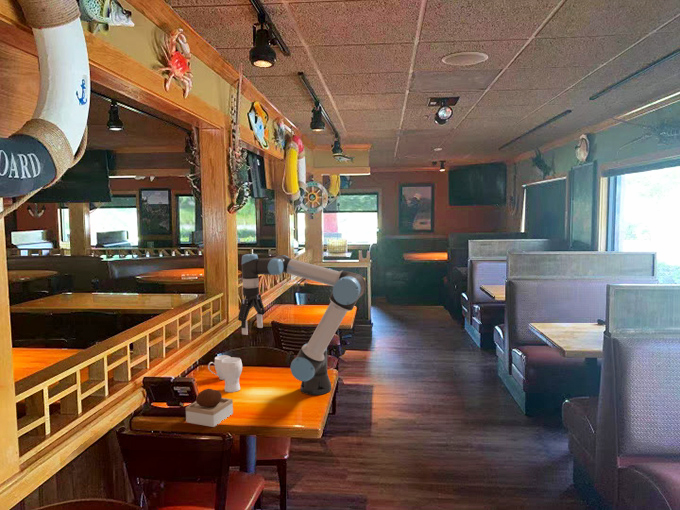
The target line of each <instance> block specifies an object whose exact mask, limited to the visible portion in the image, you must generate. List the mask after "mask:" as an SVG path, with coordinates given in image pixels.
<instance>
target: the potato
mask: <svg viewBox="0 0 680 510" xmlns="http://www.w3.org/2000/svg"><path fill="white" fill-rule="evenodd" d="M222 396H223V395H222V393H221V391H220V390H217V389H212V388H206V389H204V390H201V391H200V392H199V393H198V394H197V395H196V399H195V402H197V404H198V405H200V406H205V407H213V406H216V405H217V404H219V403H220V401H221V399H222V398H223V397H222Z"/></svg>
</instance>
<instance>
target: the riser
mask: <svg viewBox="0 0 680 510" xmlns="http://www.w3.org/2000/svg"><path fill="white" fill-rule="evenodd" d="M233 406H234V404H233V399H232V398H227V397H222V399H221V401H220V403H219V404H217V405H216V406H213V407H205V406H200V405H198V404H197V402H196V401H193V402H192V403H191V404H189V405H187V406H185V423H188V424H192V425H199V426H200V425H201V426H206V427H212V428H214V427H216V426H218V425H219V424H220V423H222V422H223V421H225V420H226V419H228V418H229V417H230V415H231V416H232V415H233V414H234V407H233ZM227 417H228V418H227ZM224 419H225V420H224ZM222 420H223V421H222ZM221 421H222V422H221ZM217 424H218V425H217Z"/></svg>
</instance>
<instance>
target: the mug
mask: <svg viewBox="0 0 680 510" xmlns="http://www.w3.org/2000/svg"><path fill="white" fill-rule="evenodd" d="M226 358H232V357H231V356H230V355H227V354H226V355H225V354H223V355H217V356H215V357H214V362H213V361H210V362H209V363H208V364H207V368H208V370H209V372H211V373H212V374H214V376H218V378H219V380H220V381H221V380H222V381H225V379H224V377H223V375H222V373H221V368H220V366H221V361H222V360H223V359H226ZM211 364H213V365H214V369H215V372H216V373H215V372H214V371H212V370H211V367H210V366H211Z"/></svg>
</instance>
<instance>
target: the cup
mask: <svg viewBox="0 0 680 510" xmlns="http://www.w3.org/2000/svg"><path fill="white" fill-rule="evenodd" d="M220 368H221V373H222V375H223V377H224V379H225V380H224V392H225V393H236V392H239V391H240V390H241V385H240V377H241V374H242V371H243V363H242V359H241V358H240V357H234V356H233V357H231V358H226V359H223V360H222V361H221V366H220Z"/></svg>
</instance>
